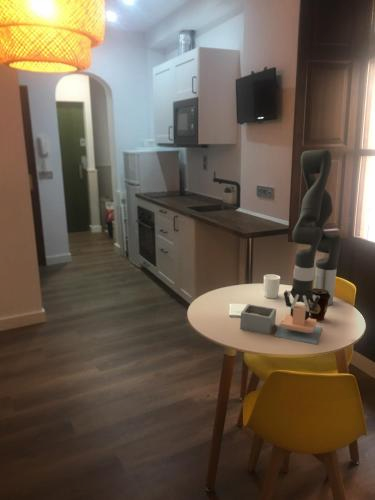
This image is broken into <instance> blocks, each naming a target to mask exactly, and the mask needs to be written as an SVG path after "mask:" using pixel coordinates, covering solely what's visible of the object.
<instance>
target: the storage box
mask: <svg viewBox="0 0 375 500" xmlns="http://www.w3.org/2000/svg"><path fill="white" fill-rule="evenodd" d="M276 316H277V308H273V307H267V306H261V305H255V304H251V303H250V304H249V303H247V306H246V307H245V308H244V310H243V311H242V312H241V317H240V323H239V329H240V330H244V331H249V332H254V333H259V334H264V335H269V336H270V335H271V333H272V331H273V329H274V327H275V326H276V319H277V318H276Z"/></svg>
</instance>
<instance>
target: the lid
mask: <svg viewBox="0 0 375 500" xmlns="http://www.w3.org/2000/svg"><path fill="white" fill-rule="evenodd" d="M305 315H306V307H305V304H298V303H296V304H295V307H294V309H293V318H292V316H291V315H290V314H288V313H287V314H286V315H285V317H284V318H283V322H282V321H281V322H282V324H281V323H280V324H281V327H285V329H289V330H294V331H299V332H305V333H310V332H312V333H313V331H314V328H315V326H317V325H316V324H317V320H316V319H310V318H308V319H307V320H305Z"/></svg>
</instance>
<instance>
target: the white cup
mask: <svg viewBox="0 0 375 500" xmlns="http://www.w3.org/2000/svg"><path fill="white" fill-rule="evenodd" d="M280 284H281V276H280V275H277V274H273V273H270V274H269V273H268V274H264V275H263V297H264V298H266V299H267V298H268V299H271V300H272V299H277V298H278V297H279V292H280V286H281V285H280Z"/></svg>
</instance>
